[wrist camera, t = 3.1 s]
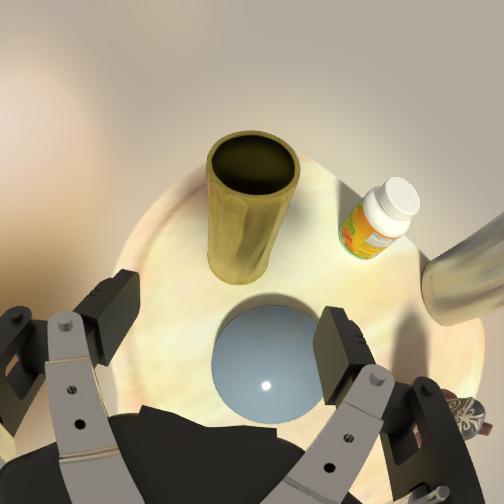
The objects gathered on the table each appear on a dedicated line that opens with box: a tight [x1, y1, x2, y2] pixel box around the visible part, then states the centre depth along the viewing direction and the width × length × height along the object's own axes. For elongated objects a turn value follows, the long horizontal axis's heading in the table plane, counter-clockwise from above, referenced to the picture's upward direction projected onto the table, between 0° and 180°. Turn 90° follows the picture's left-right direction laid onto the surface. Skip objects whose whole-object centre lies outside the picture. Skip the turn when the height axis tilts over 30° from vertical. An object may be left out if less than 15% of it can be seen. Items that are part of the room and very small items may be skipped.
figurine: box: [413, 389, 493, 448], centre depth 17 cm, size 7×7×12 cm
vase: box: [206, 131, 300, 285], centre depth 21 cm, size 6×6×14 cm
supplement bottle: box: [339, 177, 420, 260], centre depth 25 cm, size 5×5×10 cm
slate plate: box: [211, 305, 323, 424], centre depth 23 cm, size 11×11×2 cm
